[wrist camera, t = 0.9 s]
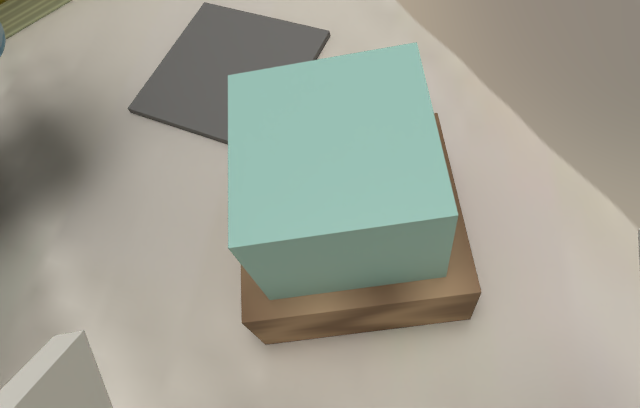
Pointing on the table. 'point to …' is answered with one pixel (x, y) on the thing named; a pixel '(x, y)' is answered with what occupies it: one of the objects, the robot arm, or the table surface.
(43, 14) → the hardcover book
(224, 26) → the mat
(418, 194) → the mint green cube
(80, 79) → the table surface
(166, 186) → the table surface
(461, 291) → the walnut box
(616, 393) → the table surface
